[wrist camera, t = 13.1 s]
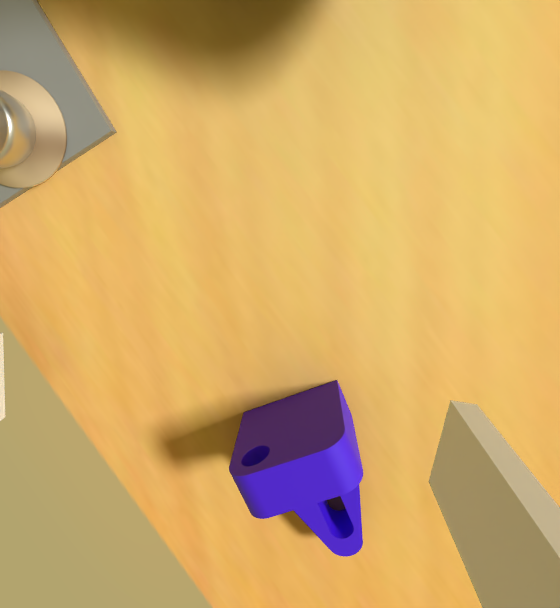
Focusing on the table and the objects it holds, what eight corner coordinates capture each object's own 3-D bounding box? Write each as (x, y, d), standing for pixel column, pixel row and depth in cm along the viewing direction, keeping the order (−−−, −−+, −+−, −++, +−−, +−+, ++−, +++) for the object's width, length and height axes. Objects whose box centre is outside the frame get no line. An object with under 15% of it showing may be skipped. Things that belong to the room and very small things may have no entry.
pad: (-46, 66, 39) (-50, 65, 39) (64, 76, 39) (62, 75, 39) (-34, 183, 42) (-37, 183, 42) (69, 192, 42) (67, 192, 41)
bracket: (243, 411, 49) (225, 482, 37) (337, 379, 47) (347, 442, 36) (303, 538, 53) (303, 636, 41) (391, 512, 51) (416, 607, 40)
